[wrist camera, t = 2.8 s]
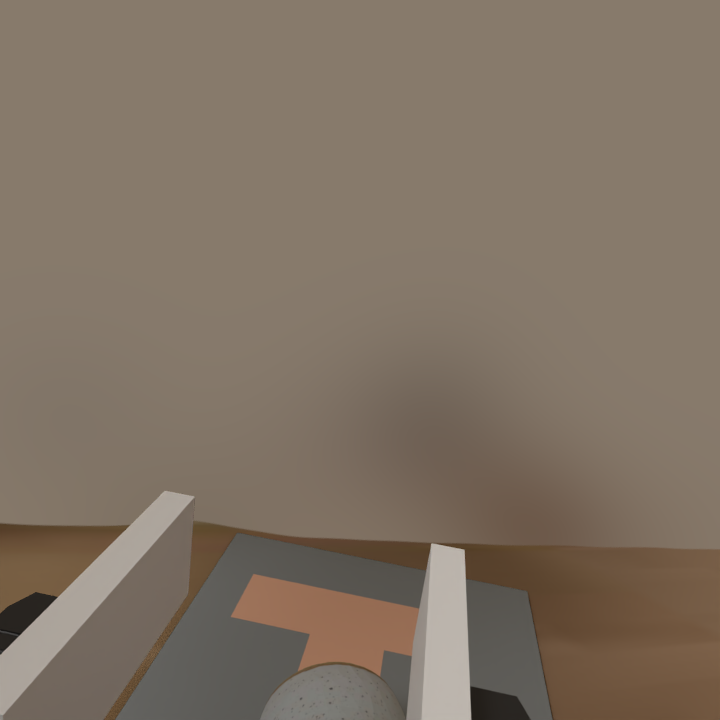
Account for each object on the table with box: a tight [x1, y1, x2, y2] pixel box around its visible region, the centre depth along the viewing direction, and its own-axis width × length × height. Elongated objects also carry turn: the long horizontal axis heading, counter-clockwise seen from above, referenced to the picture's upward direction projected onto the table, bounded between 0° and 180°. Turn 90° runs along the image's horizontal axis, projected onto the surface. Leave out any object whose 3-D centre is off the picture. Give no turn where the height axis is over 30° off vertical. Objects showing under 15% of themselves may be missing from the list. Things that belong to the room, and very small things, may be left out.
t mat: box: [115, 533, 552, 720], centre depth 36 cm, size 24×30×1 cm
